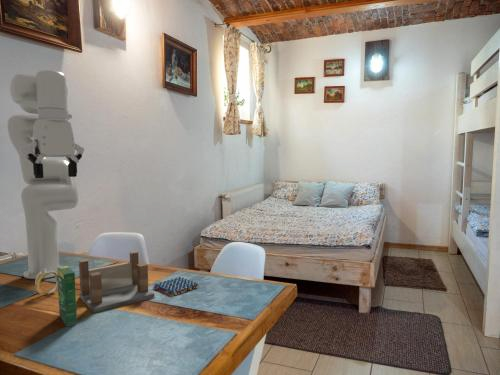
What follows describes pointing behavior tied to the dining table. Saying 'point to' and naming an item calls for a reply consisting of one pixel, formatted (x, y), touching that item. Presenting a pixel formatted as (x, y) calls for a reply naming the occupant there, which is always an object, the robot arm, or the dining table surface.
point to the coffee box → (67, 295)
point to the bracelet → (42, 277)
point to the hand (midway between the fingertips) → (56, 177)
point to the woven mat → (175, 286)
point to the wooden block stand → (114, 284)
